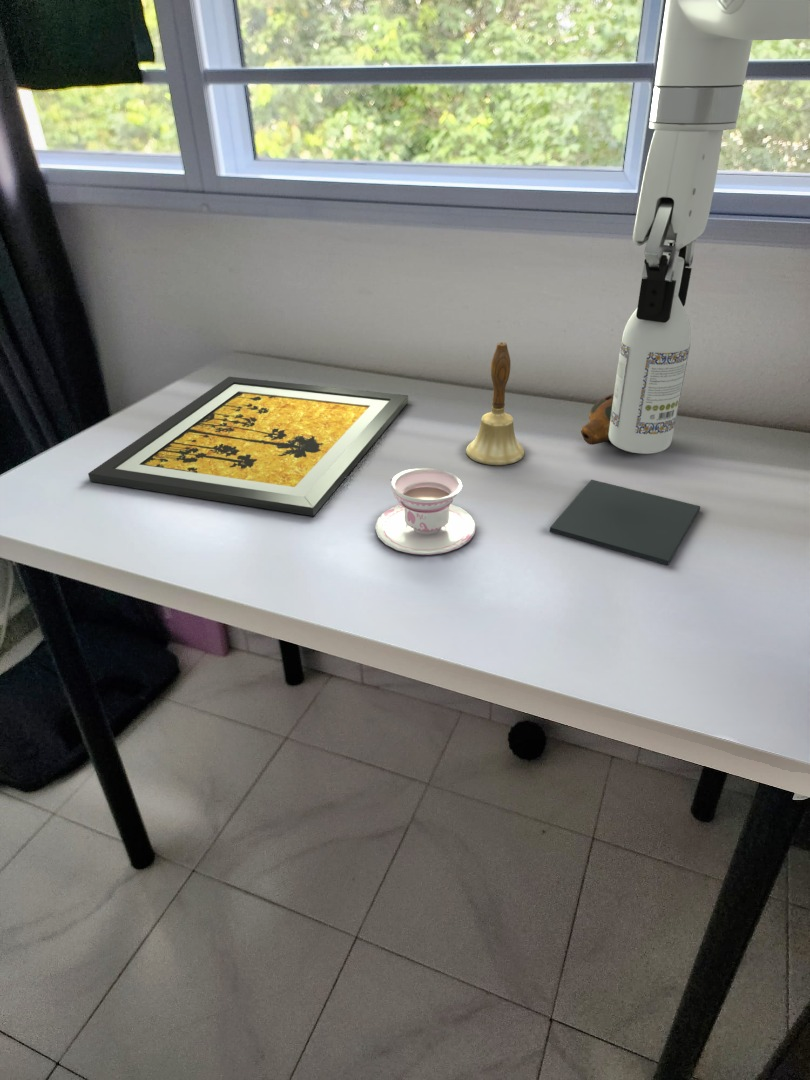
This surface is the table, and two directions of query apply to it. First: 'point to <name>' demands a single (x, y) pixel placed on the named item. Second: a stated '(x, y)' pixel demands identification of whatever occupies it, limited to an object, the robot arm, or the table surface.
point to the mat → (627, 521)
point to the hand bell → (497, 420)
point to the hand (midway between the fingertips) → (661, 311)
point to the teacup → (425, 514)
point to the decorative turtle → (599, 422)
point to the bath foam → (650, 378)
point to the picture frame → (257, 444)
